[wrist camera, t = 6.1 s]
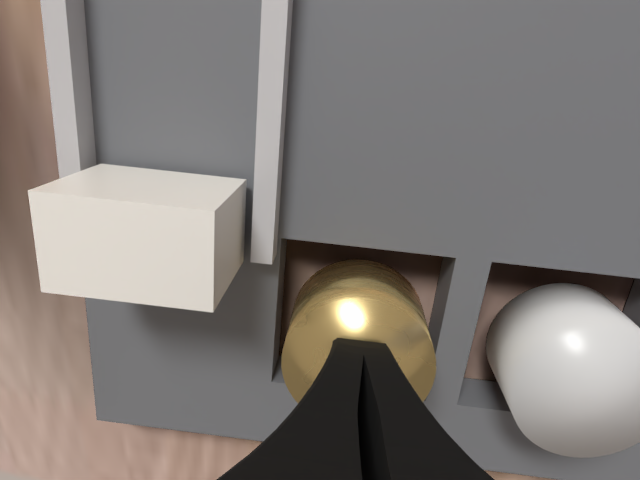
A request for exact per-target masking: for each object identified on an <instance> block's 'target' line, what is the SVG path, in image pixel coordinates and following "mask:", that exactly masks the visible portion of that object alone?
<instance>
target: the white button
mask: <svg viewBox="0 0 640 480" xmlns="http://www.w3.org/2000/svg"><path fill="white" fill-rule="evenodd" d="M486 354H487V358H488V362H489V364H490V367H491V369H492V371H493V373H494V375H495V377H496V380H497V382H498V384H499V386H500V388H501V391H502V393H503V395H504V397H505V399H506V402H507V404H508V406H509V408H510V410H511V413H512V415H513V417H514V419H515V421H516V423H517V425H518V427H519V428H520V430H521V431H522V433H523V434H524V435H525V436H526V437H527V438H528V439H529V440H530V441H532V442H533V443H534V444H536V445H537V446H539V447H541V448H542V449H545V450H547V451H549V452H552V453H555V454H558V455H562V456H568V457H578V458H590V457H599V456H605V455H609V454H613V453H616V452H619V451H622V450H625V449H627V448H629V447H631V446H633V445H635V444H637V443H639V442H640V328H639V327H638V326H637V325H636V324H635V323H634V322H633V321H632V320H630V319H629V318H628V317H627V316H626V315H625V314H624V313H623V312H622V311H620V310H619V309H618V308H617V307H616V306H615V305H614V304H613V303H612V302H611V301H609V300H608V299H607V298H606V297H605V296H604V295H602V294H601V293H599V292H597V291H595V290H593V289H591V288H589V287H586V286H582V285H578V284H572V283H553V284H547V285H542V286H539V287H536V288H533V289H530V290H528V291H526V292H524V293H522V294H520V295H518V296H517V297H515V298H514V299H512V300H511V301H510V302H509V303H507V304H506V305H505V306H504V307H503V308H502V309H501V310H500V312H499V313H498V314H497V315H496V317H495V318H494V320H493V322H492V324H491V326H490V328H489V331H488V334H487V339H486Z"/></svg>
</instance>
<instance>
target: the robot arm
mask: <svg viewBox="0 0 640 480" xmlns="http://www.w3.org/2000/svg"><path fill="white" fill-rule="evenodd" d="M217 480H494V479H493V478H492V477H491V476H490V475H488V474H487V473H486V472H485V471H484V470H483V469H482V468H481V467H480V466H478V465H477V464H476V463H475V462H474V461H473V460H472V459H471V458H470V457H469V456H468V455H467V454H466V453H465V452H464V451H463V450H462V449H461V447H460V446H459V445H458V444H457V443H456V442H455V441H454V440H453V439H452V438H451V437H450V436H449V435H448V434H447V432H446V431H445V430H444V429H443V428H442V426H441V425H440V424H439V423H438V421H437V420H436V419H435V418H434V416H433V415H432V414H431V412H430V411H429V410H428V408H427V407H426V406H425V404H424V403H423V402H422V400H421V399H420V397H419V396H418V394H417V393H416V391H415V390H414V388H413V387H412V386H411V384H410V383H409V381H408V379H407V378H406V376H405V375H404V373H403V371H402V370H401V368H400V366H399V365H398V363H397V361H396V360H395V358H394V356H393V354H392V352H391V350H390V349H389V347H388V346H387V344H386V343H379V342H370V341H362V340H353V339H345V338H336V339H335V340H334V341H333V343H332V347H331V350H330V353H329V355H328V357H327V359H326V361H325V363H324V365H323V367H322V369H321V371H320V372H319V374H318V376H317V377H316V379H315V381H314V382H313V384H312V385H311V387H310V388H309V389H308V391H307V392H306V394H305V395H304V396H303V398H302V399H301V400H300V402H299V403H298V404H297V406H296V407H295V408H294V409H293V411H292V412H291V413H290V414H289V415H288V417H287V418H286V419H285V420H284V421H283V422H282V423H281V424H280V425H279V426H278V428H277V429H276V430H275V431H274V432H273V433H272V434H271V435H269V436H268V437H267V438H266V439H265V440H264V441H263V442H262V443H261V444H260V445H259V446H258V447H257V448H256V449H255V450H254V451H252V452H251V453H250V454H249V455H248V456H247V457H245V458H244V459H243V460H241V461H240V462H239V463H238V464H236V465H235V466H234V467H232V468H231V469H230V470H229V471H227V472H226V473H225V474H223V475H222V476H221V477H219V478H218V479H217Z"/></svg>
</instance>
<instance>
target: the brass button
mask: <svg viewBox="0 0 640 480" xmlns="http://www.w3.org/2000/svg"><path fill="white" fill-rule="evenodd" d="M336 338H345V339H353V340H362V341H370V342H379V343H386V344H387V346H388V347H389V349H390V350H391V352H392V354H393V356H394V358H395V360H396V361H397V363H398V365H399V366H400V368H401V370H402V371H403V373H404V375H405V376H406V378H407V379H408V381H409V383H410V384H411V386H412V387H413V388H414V390H415V391H416V393H417V394H418V396H419V397H420V399H421V400H422V402H423V401H424V400H425V399H426V397H427V396H428V394H429V392H430V390H431V388H432V386H433V383H434V379H435V375H436V357H435V351H434V348H433V344H432V341H431V337H430V333H429V330H428V326H427V323H426V319H425V316H424V312H423V309H422V305H421V302H420V299H419V296H418V295H417V293H416V291H415V289H414V288H413V286H412V285H411V283H410V282H409V281H408V280H407V279H406V278H405V277H404V276H402V275H401V274H400V273H399V272H397V271H396V270H394V269H392V268H391V267H388V266H386V265H384V264H381V263H378V262H374V261H369V260H346V261H341V262H337V263H334V264H331V265H329V266H327V267H324V268H323V269H321V270H319V271H318V272H316V273H315V274H314V275H313V276H311V277H310V278H309V279H308V280H307V282H306V283H305V284H304V285H303V287H302V288H301V290H300V292H299V294H298V296H297V298H296V301H295V305H294V308H293V312H292V316H291V320H290V324H289V328H288V331H287V335H286V339H285V343H284V347H283V351H282V357H281V368H282V374H283V378H284V381H285V384H286V386H287V388H288V390H289V392H290V394H291V395H292V397H293V398H294V399H295V401H296V402H297V403H299V402H300V400H301V399H302V398H303V396H304V395H305V394H306V392H307V391H308V389H309V388H310V387H311V385H312V384H313V382H314V381H315V379H316V377H317V376H318V374H319V372H320V371H321V369H322V367H323V365H324V363H325V361H326V359H327V357H328V355H329V353H330V350H331V347H332V343H333V341H334V340H335V339H336Z"/></svg>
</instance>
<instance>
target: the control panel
mask: <svg viewBox="0 0 640 480" xmlns="http://www.w3.org/2000/svg"><path fill="white" fill-rule="evenodd" d="M40 2H41V11H42V20H43V30H44V39H45V48H46V58H47V67H48V76H49V86H50V95H51V104H52V114H53V123H54V132H55V142H56V151H57V160H58V170H59V179H60V178H63V177H66V176H68V175H71V174H74V173H77V172H79V171H82V170H85V169H88V168H90V167H93V166H96V165H99V164H110V165H119V166H128V167H138V168H147V169H156V170H165V171H174V172H184V173H193V174H202V175H211V176H220V177H230V178H239V179H247V181H246V207H245V234H244V260H243V263H242V265H241V266H240V268H239V270H238V271H237V273H236V275H235V276H234V278H233V280H232V282H231V283H230V285H229V287H228V288H227V290H226V292H225V293H224V295H223V297H222V299H221V300H220V302H219V304H218V305H217V307H216V309H215V310H214V312H213V313H212V312H204V311H196V310H187V309H179V308H171V307H162V306H154V305H145V304H137V303H129V302H120V301H112V300H104V299H95V298H87V297H85V302H86V312H87V322H88V333H89V343H90V354H91V364H92V374H93V385H94V395H95V406H96V416H97V420H101V421H109V422H116V423H124V424H132V425H140V426H147V427H155V428H163V429H171V430H179V431H186V432H194V433H202V434H210V435H217V436H225V437H233V438H241V439H248V440H256V441H264V440H265V439H266V438H267V437H268V436H269V435H271V434H272V433H273V432H274V431H275V430H276V429H277V428H278V426H279V425H280V424H281V423H282V422H283V421H284V420H285V419H286V418H287V417H288V415H289V414H290V413H291V412H292V411H293V409H294V408H295V407H296V406H297V404H298V403H297V402H296V401H295V399H294V398H293V397H292V395H291V394H290V392H289V390H288V388H287V386H286V384H285V381H284V378H283V374H282V368H281V357H282V356H281V355H279V343H280V329H281V316H282V302H283V288H284V274H285V261H286V247H287V239H294V240H302V241H311V242H320V243H329V244H338V245H347V246H356V247H364V248H373V249H382V250H391V251H400V252H409V253H418V254H426V255H435V256H443V259H442V264H441V269H440V274H439V279H438V284H437V289H436V294H435V299H434V304H433V308H432V313H431V318H430V323H429V328H428V330H429V333H430V337H431V341H432V344H433V348H434V351H435V357H436V375H435V379H434V383H433V386H432V388H431V390H430V392H429V394H428V396H427V397H426V399H425V400H424V401H423V403H424V404H425V406H426V407H427V408H428V410H429V411H430V412H431V414H432V415H433V416H434V418H435V419H436V420H437V421H438V423H439V424H440V425H441V426H442V428H443V429H444V430H445V431H446V432H447V434H448V435H449V436H450V437H451V438H452V439H453V440H454V441H455V442H456V443H457V444H458V445H459V446H460V447H461V449H462V450H463V451H464V452H465V453H466V454H467V455H468V456H469V457H470V458H471V459H472V460H473V461H474V462H475V463H476V464H477V465H478V466H480V467H481V468H482V469H483V470H489V471H497V472H504V473H512V474H520V475H528V476H535V477H543V478H551V479H559V480H640V442H639V443H637V444H635V445H633V446H631V447H629V448H627V449H625V450H622V451H619V452H616V453H613V454H609V455H605V456H599V457H590V458H578V457H568V456H562V455H558V454H555V453H552V452H549V451H547V450H545V449H542V448H541V447H539V446H537V445H536V444H534V443H533V442H532V441H530V440H529V439H528V438H527V437H526V436H525V435H524V434H523V433H522V431H521V430H520V428H519V427H518V425H517V423H516V421H515V419H514V417H513V415H512V413H511V410H510V408H509V406H508V404H507V402H506V399H505V397H504V395H503V393H502V391H501V388H500V386H499V384H498V382H494V381H486V380H477V379H469V378H464V374H465V370H466V366H467V362H468V357H469V353H470V349H471V345H472V341H473V337H474V333H475V329H476V325H477V321H478V316H479V312H480V308H481V304H482V300H483V296H484V292H485V288H486V284H487V279H488V275H489V271H490V267H491V263H492V262H497V263H506V264H515V265H524V266H533V267H541V268H550V269H559V270H568V271H577V272H586V273H595V274H603V275H612V276H621V277H630V278H635V280H634V283H633V286H632V288H631V291H630V294H629V296H628V299H627V302H626V305H625V307H624V310H623V313H624V314H625V315H626V316H627V317H628V318H629V319H630V320H632V321H633V322H634V323H635V324H636V325H637V326H638V327H639V328H640V0H40Z"/></svg>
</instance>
